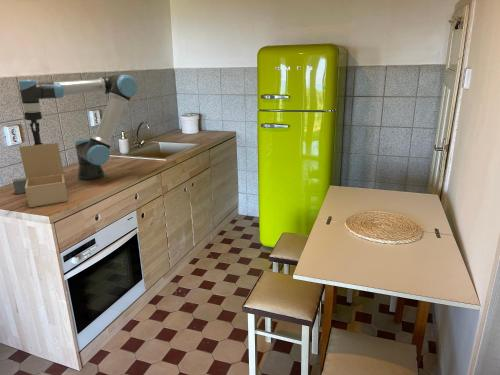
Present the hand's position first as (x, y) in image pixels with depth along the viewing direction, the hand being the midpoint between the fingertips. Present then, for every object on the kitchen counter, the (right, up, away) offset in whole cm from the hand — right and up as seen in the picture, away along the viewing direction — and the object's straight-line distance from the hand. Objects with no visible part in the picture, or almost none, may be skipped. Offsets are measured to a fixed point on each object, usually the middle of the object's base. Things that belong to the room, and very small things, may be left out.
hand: (40, 157), depth 196 cm
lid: (+3, -2, -3) cm, 5 cm away
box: (+7, -22, -5) cm, 23 cm away
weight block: (-13, -18, +8) cm, 24 cm away
